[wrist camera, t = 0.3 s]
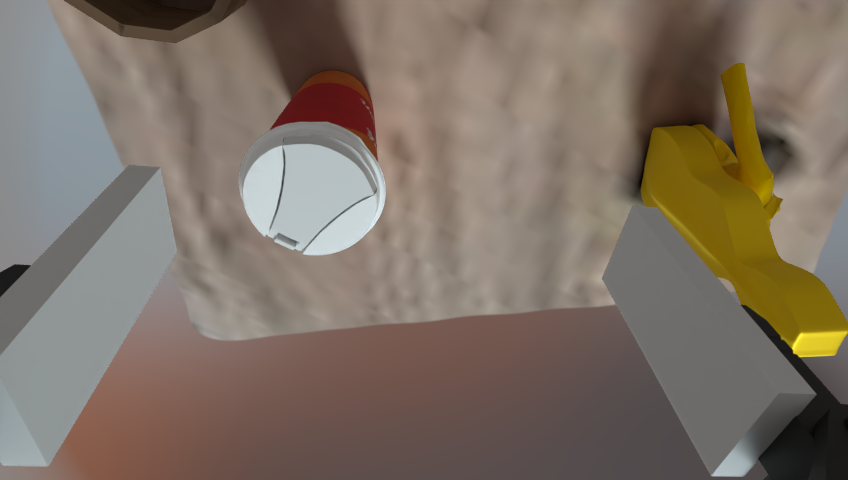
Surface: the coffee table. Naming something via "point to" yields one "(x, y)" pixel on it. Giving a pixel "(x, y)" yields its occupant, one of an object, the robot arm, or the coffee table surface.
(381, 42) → the coffee table surface
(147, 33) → the ring
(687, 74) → the coffee table surface
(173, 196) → the coffee table surface
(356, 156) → the coffee cup
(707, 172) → the figure statuette
